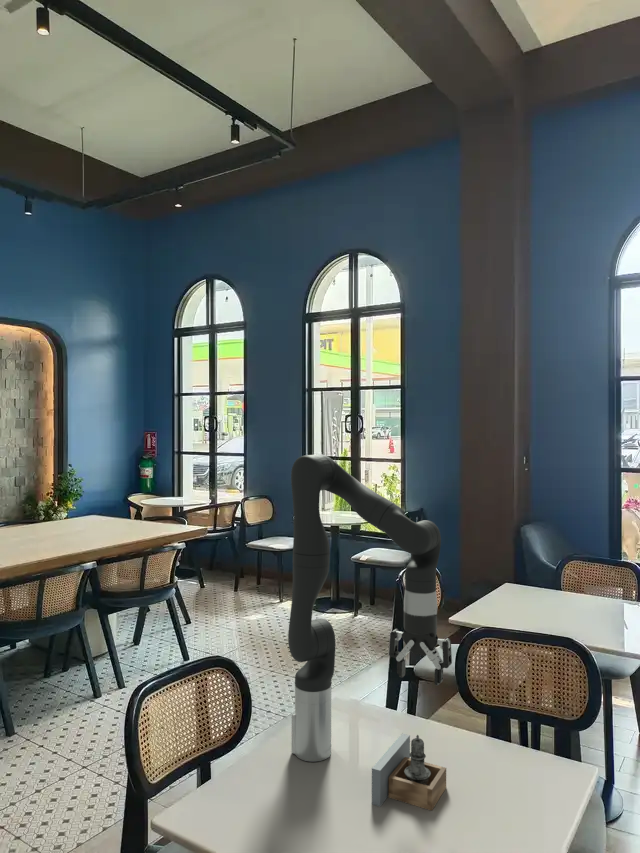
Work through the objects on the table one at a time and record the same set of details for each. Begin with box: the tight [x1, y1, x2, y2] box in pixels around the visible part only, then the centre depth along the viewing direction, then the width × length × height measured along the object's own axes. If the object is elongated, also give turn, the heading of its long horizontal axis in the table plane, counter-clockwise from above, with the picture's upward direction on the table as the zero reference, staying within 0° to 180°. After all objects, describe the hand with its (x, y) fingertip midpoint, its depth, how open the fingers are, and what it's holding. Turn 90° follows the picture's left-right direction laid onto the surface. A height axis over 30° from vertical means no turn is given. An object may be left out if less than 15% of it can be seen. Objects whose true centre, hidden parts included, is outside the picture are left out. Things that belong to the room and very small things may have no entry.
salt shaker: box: [404, 734, 431, 786], centre depth 145 cm, size 6×6×12 cm
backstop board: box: [371, 732, 411, 807], centre depth 148 cm, size 2×18×8 cm, turn 151°
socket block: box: [388, 757, 447, 811], centre depth 145 cm, size 10×10×4 cm
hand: (419, 680), depth 147 cm, fingers open, 8 cm apart
